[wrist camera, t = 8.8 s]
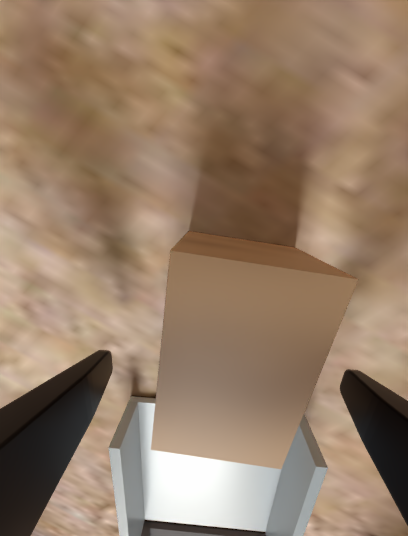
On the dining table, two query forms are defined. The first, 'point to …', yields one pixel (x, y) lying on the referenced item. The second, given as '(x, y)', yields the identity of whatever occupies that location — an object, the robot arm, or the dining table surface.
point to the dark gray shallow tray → (189, 530)
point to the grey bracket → (210, 482)
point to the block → (242, 346)
